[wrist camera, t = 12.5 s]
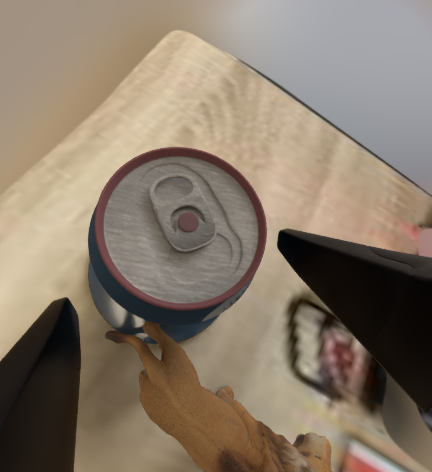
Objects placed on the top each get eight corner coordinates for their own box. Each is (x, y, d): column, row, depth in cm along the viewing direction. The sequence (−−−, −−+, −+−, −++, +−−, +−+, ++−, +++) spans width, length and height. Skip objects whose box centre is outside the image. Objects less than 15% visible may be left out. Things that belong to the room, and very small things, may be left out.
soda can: (221, 288, 19) (314, 274, 8) (142, 327, 17) (119, 384, 6) (189, 218, 20) (233, 117, 9) (110, 245, 18) (38, 154, 7)
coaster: (249, 315, 20) (251, 316, 19) (103, 367, 16) (101, 369, 15) (213, 195, 22) (215, 192, 22) (79, 214, 18) (77, 211, 18)
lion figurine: (274, 396, 19) (384, 480, 11) (245, 468, 17) (352, 641, 9) (130, 300, 17) (127, 314, 8) (76, 371, 15) (4, 480, 6)
